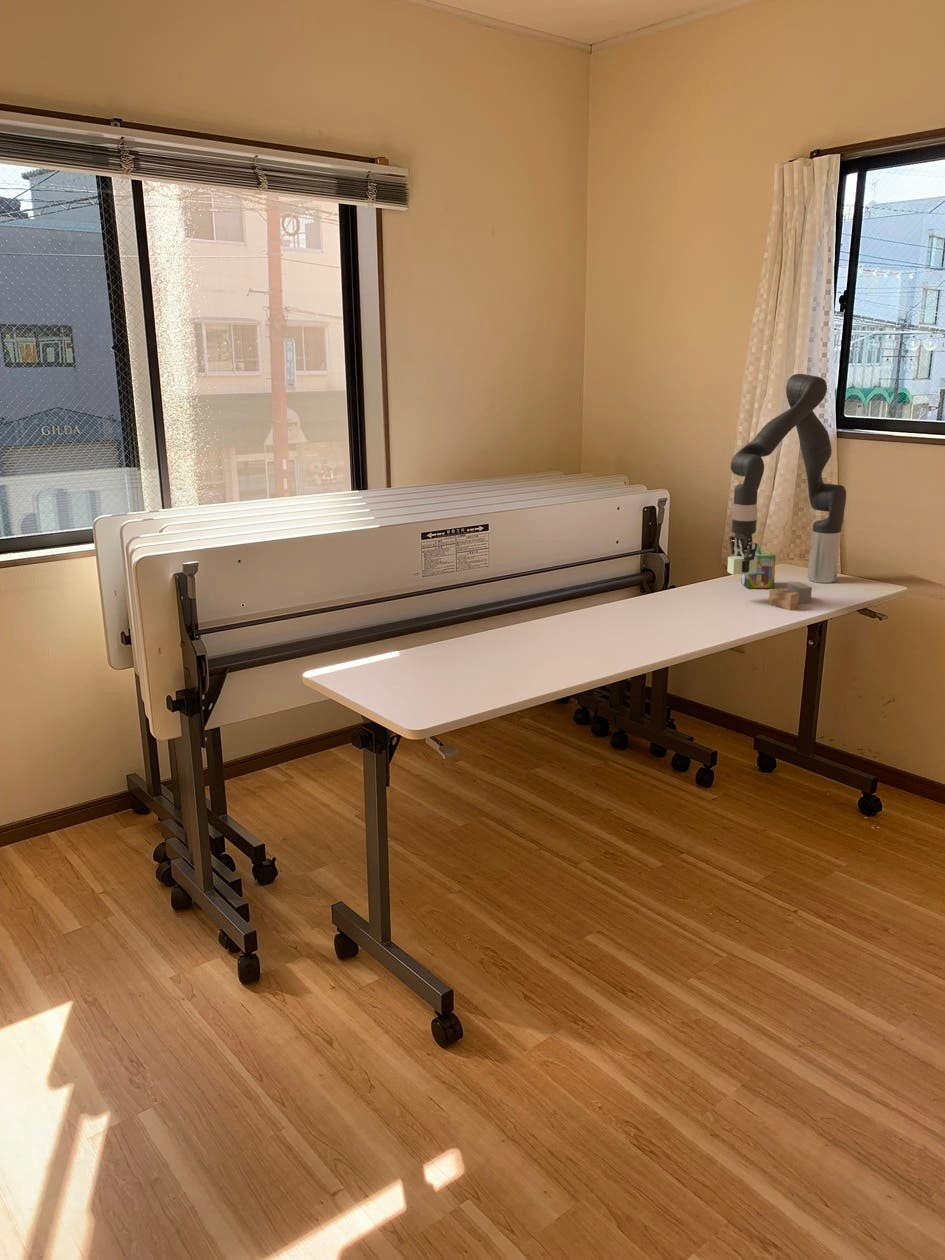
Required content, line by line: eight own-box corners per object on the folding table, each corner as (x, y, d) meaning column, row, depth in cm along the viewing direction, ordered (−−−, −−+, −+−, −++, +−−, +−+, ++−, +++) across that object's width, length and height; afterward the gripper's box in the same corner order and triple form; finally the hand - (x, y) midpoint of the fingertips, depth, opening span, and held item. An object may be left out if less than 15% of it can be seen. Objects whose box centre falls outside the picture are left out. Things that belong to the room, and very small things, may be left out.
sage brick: (733, 574, 311) (734, 559, 310) (727, 572, 315) (728, 556, 313) (756, 572, 313) (757, 557, 311) (750, 570, 317) (750, 554, 315)
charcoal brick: (786, 597, 319) (787, 582, 318) (797, 596, 320) (799, 582, 318) (799, 603, 311) (800, 588, 310) (810, 602, 312) (811, 587, 311)
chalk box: (774, 588, 330) (777, 545, 326) (747, 589, 330) (749, 546, 326) (766, 582, 339) (769, 540, 335) (740, 582, 339) (742, 540, 335)
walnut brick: (768, 605, 310) (769, 590, 309) (776, 603, 312) (777, 588, 311) (789, 610, 304) (791, 595, 302) (797, 608, 306) (799, 593, 305)
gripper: (766, 520, 303) (763, 574, 308) (744, 513, 316) (741, 565, 321) (744, 522, 301) (741, 576, 306) (722, 514, 315) (720, 566, 320)
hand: (741, 570), depth 314 cm, fingers closed on sage brick, 4 cm apart
